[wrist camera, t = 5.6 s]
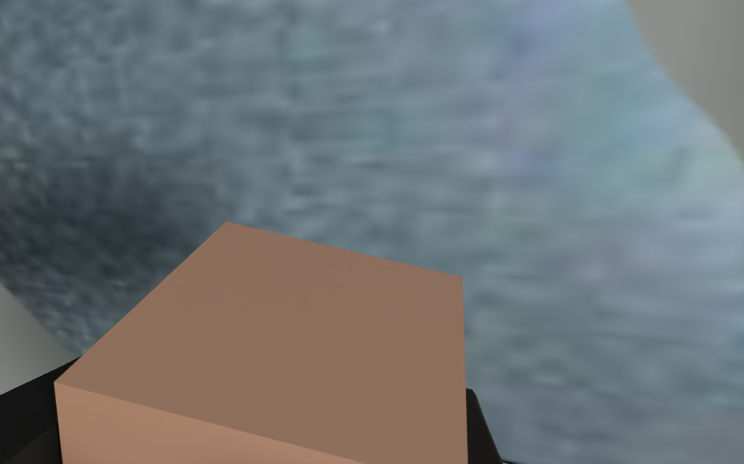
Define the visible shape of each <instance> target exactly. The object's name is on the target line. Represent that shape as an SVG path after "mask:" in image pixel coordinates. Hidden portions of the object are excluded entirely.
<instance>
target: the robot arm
mask: <svg viewBox="0 0 744 464" xmlns="http://www.w3.org/2000/svg"><path fill="white" fill-rule="evenodd" d="M82 356H83V355H82ZM82 356H80V357H82ZM80 357H78V358H76V359H75V360H73V361H71V362H69V363H67V364H65V365H63V366H61V367H59V368H57V369H55V370H53V371H50V372H48V373H46V374H44V375H42V376H40V377H38V378H36V379H33V380H32V381H30V382H27V383H25V384H23V385H21V386H19V387H16V388H14V389H12V390H10V391H8V392H6V393H4V394H2V395H0V464H63V460H62V451H61V442H60V433H59V423H58V414H57V405H56V396H55V387H54V382H55V381H56V380H57V379H58V378H59V377H60V376H61V375H62V374H63V373H64V372H65V371H67V370H68V369H69V368H70V367H71V366H72V365H73V364H74V363H75V362H76V361H77V360H78V359H79V358H80ZM466 418H467V453H468V464H507V463H503V462H502V460H501V457H500V455H499V453H498V451H497V448H496V446H495V443H494V441H493V439H492V436H491V434H490V431H489V429H488V426H487V424H486V421H485V418H484V416H483V413H482V410H481V408H480V405H479V402H478V399H477V397H476V395H475V393H474V392H473V390H471V389H467V388H466Z"/></svg>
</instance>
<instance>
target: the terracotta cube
mask: <svg viewBox="0 0 744 464" xmlns="http://www.w3.org/2000/svg"><path fill="white" fill-rule="evenodd" d="M54 387H55V396H56V405H57V414H58V423H59V433H60V442H61V451H62V460H63V464H468V453H467V418H466V382H465V347H464V311H463V277H459V276H455V275H451V274H446V273H442V272H438V271H434V270H429V269H425V268H421V267H417V266H412V265H408V264H404V263H400V262H395V261H391V260H387V259H383V258H378V257H374V256H370V255H366V254H362V253H357V252H353V251H349V250H345V249H340V248H336V247H332V246H328V245H323V244H319V243H315V242H311V241H306V240H302V239H298V238H294V237H290V236H285V235H281V234H277V233H273V232H268V231H264V230H260V229H256V228H251V227H247V226H243V225H239V224H234V223H230V222H225V223H224V224H223V225H222V226H221V227H220V228H219V229H218V230H217V231H215V232H214V233H213V234H212V235H211V236H210V237H209V238H208V239H207V240H206V241H205V242H204V243H203V244H202V245H200V246H199V247H198V248H197V249H196V250H195V251H194V252H193V253H192V254H191V255H190V256H189V257H188V258H187V259H185V260H184V261H183V262H182V263H181V264H180V265H179V266H178V267H177V268H176V269H175V270H174V271H173V272H172V273H170V274H169V275H168V276H167V277H166V278H165V279H164V280H163V281H162V282H161V283H160V284H159V285H158V286H157V287H155V288H154V289H153V290H152V291H151V292H150V293H149V294H148V295H147V296H146V297H145V298H144V299H143V300H142V301H140V302H139V303H138V304H137V305H136V306H135V307H134V308H133V309H132V310H131V311H130V312H129V313H128V314H127V315H125V316H124V317H123V318H122V319H121V320H120V321H119V322H118V323H117V324H116V325H115V326H114V327H113V328H112V329H110V330H109V331H108V332H107V333H106V334H105V335H104V336H103V337H102V338H101V339H100V340H99V341H98V342H97V343H95V344H94V345H93V346H92V347H91V348H90V349H89V350H88V351H87V352H86V353H85V354H84V355H83V356H82V357H80V358H79V359H78V360H77V361H76V362H75V363H74V364H73V365H72V366H71V367H70V368H69V369H68V370H67V371H65V372H64V373H63V374H62V375H61V376H60V377H59V378H58V379H57V380H56V381H55V382H54Z"/></svg>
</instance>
